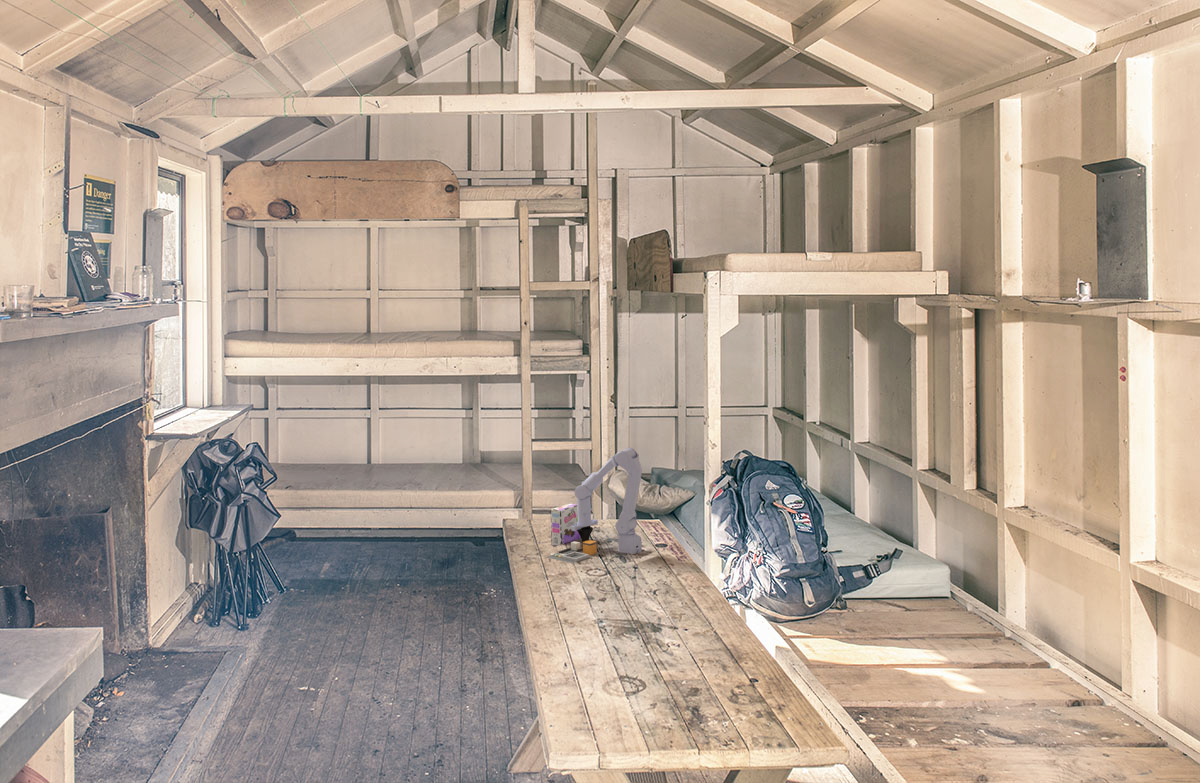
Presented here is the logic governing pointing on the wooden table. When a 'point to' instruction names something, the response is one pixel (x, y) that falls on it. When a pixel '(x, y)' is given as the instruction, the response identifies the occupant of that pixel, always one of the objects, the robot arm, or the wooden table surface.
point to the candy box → (564, 524)
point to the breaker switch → (575, 545)
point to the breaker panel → (571, 555)
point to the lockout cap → (590, 547)
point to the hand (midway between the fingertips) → (585, 544)
